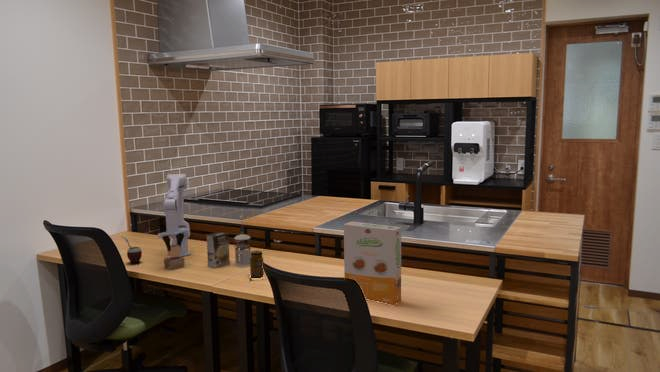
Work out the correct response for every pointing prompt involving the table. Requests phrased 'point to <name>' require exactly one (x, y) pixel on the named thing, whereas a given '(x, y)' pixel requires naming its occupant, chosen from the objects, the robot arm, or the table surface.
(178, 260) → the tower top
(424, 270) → the table surface
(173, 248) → the block
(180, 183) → the robot arm
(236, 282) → the table surface
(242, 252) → the french press
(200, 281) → the table surface
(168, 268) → the tower base
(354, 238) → the cereal box
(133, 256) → the mate gourd
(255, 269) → the condiment
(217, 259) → the coffee box
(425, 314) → the table surface
